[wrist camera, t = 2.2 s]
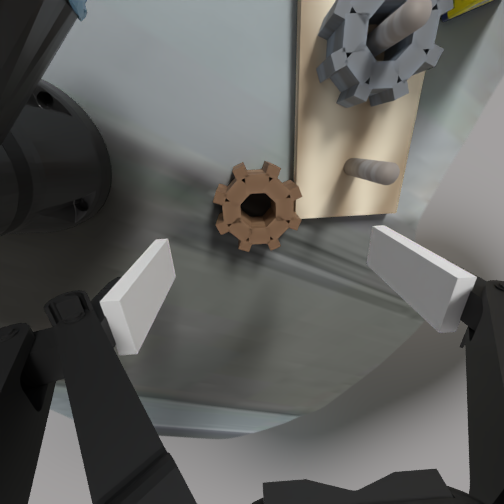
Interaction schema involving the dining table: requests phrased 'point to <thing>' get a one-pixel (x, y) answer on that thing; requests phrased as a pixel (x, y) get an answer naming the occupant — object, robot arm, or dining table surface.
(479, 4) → the supplement box
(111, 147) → the dining table surface
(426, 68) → the gear board
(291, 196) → the walnut gear
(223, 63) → the dining table surface
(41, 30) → the robot arm
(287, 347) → the dining table surface
